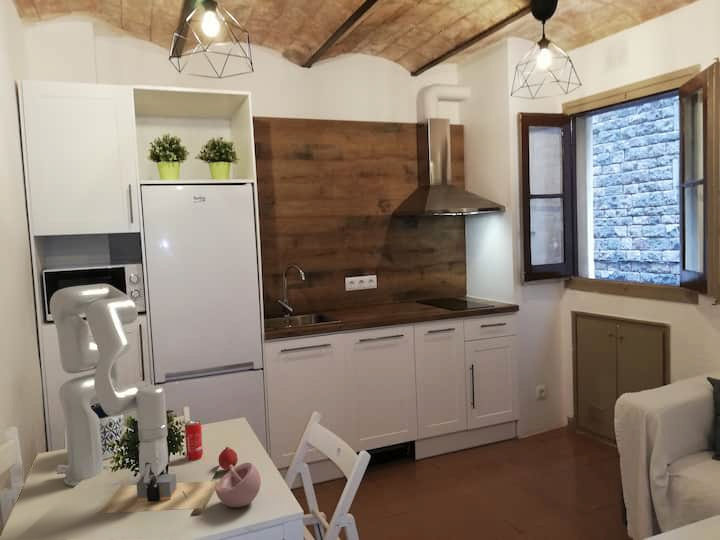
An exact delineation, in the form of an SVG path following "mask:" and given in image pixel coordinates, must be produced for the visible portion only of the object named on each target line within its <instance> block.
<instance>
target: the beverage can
mask: <svg viewBox="0 0 720 540" xmlns="http://www.w3.org/2000/svg"><path fill="white" fill-rule="evenodd" d="M185 431H186V435H185V434H184V437H185V453H186V457H187V459H188V460H189V461H197V460H200V459H202V457H203V454H204V451H203V437H202V436H203V434H202V432H203V431H202V423H201V420H199V419H190V420H188V421H186V422H185V424H184V432H185Z"/></svg>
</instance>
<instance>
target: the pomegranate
mask: <svg viewBox="0 0 720 540" xmlns="http://www.w3.org/2000/svg"><path fill="white" fill-rule="evenodd" d="M217 460H218V465H219V467H220V468H221V469H223V470H225V471H226V472H229V471H230V468H229V465H233V468H235V467H236V465H237V464H238V461H239V459H238V455H237V452H236V451H235V450H233V449H232V448H230V446H226V447H225V448H224V449H223V450H222V451H221V453H220V454H219V455H218V459H217Z"/></svg>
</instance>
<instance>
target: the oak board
mask: <svg viewBox="0 0 720 540" xmlns="http://www.w3.org/2000/svg"><path fill="white" fill-rule="evenodd" d="M217 483H218V481H217V480H211V481H210V480H208V481H191V482H189V481H188V482H187V481H186V482H176V488H177V491H176V493H175V494H174V496H173V497H172V499H171V500H159V501H138V496H137V484H127V485H125V484H124V485H123V484H122V485H120V486H119V487H118V489H116V491H115V492H113V493H112V495H111V496H110V497H109V498H108V499H107V501H105V503H103V505H102V506H101V507H100V508H99V509H98V510H97V511H96V512H95V514H111V513H112V514H113V513H131V512H132V513H134V512H153V511H158V512H159V511H173V510H176V511H177V510H192V512H191V513H190V515H202V514H203V513H204V511H205V510H206V507H208V504H209V502H210V501H211V498H212V496H213V495H214V493H215V492H216V490H215V487H216V485H217Z"/></svg>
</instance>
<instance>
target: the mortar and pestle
mask: <svg viewBox="0 0 720 540" xmlns="http://www.w3.org/2000/svg"><path fill="white" fill-rule="evenodd" d="M229 468H230V471H227V473H226V474H224V475H223V476H222V477H221V478H220V480H219V481H217V485H216V487H215V494H216V495H217V498H218V499H219V501H220V502H222V504H224V505H226V506H227V507H231V508H243V507H245V506H248V504H250V503H252V502H253V501H254V500H255V498H257V496H258V493H260V492H259V491H260V488H261V474H260V472H259V470H258V469H257V467H256V466H255V465H254V464H253V463H252V462H250V461H249V462H244V463H241V464H239V465H237V466H234V468H233V465H229Z"/></svg>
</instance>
